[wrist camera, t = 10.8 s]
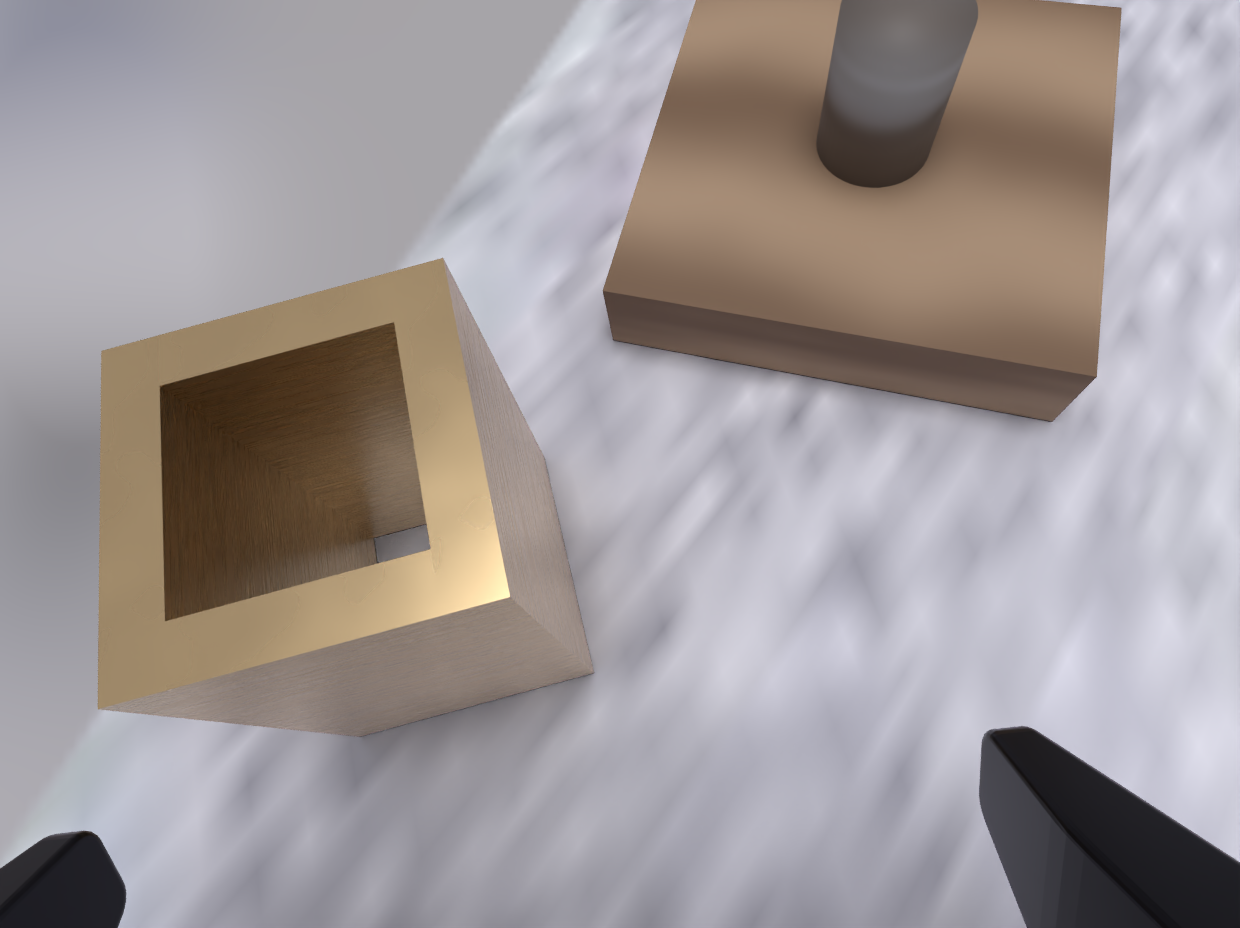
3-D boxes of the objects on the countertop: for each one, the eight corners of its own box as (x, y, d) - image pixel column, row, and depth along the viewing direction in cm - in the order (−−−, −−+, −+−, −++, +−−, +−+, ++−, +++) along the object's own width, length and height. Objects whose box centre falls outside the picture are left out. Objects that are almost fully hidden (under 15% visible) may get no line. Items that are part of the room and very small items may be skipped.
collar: (594, 673, 19) (510, 597, 11) (359, 736, 19) (97, 709, 11) (543, 457, 22) (443, 257, 13) (334, 514, 22) (101, 351, 13)
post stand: (1052, 421, 20) (1196, 275, 14) (613, 339, 23) (580, 183, 17) (1081, 80, 24) (1205, -146, 18) (705, 39, 27) (705, -175, 21)
